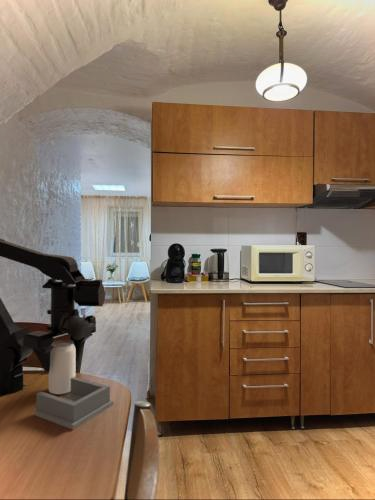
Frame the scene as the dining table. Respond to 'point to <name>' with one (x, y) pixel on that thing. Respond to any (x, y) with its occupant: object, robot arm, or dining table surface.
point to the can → (62, 367)
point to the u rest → (74, 403)
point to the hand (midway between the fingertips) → (62, 366)
